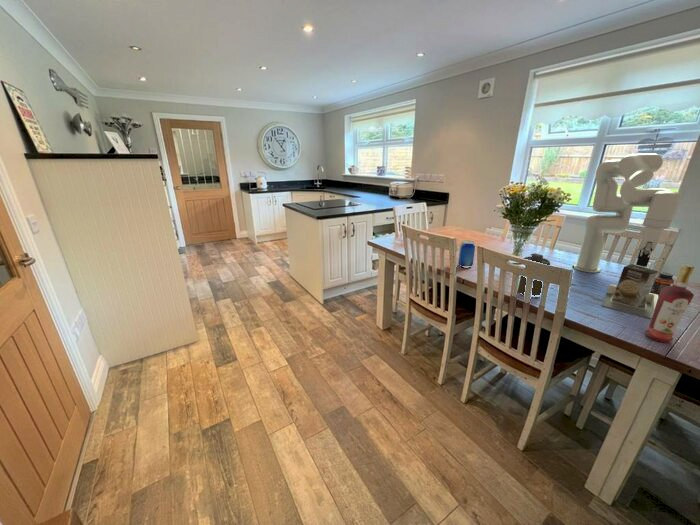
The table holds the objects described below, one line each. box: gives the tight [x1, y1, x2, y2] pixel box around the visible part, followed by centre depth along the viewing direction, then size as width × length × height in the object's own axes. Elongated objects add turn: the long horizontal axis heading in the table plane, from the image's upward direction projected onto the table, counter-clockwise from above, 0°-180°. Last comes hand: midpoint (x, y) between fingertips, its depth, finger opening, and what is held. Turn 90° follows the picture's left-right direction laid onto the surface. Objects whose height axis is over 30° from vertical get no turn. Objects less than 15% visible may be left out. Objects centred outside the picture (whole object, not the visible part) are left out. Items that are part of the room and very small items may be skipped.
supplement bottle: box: [649, 271, 675, 297], centre depth 126 cm, size 6×6×11 cm
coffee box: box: [613, 263, 659, 307], centre depth 120 cm, size 9×6×16 cm
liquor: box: [644, 264, 695, 343], centre depth 94 cm, size 7×7×28 cm
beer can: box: [457, 239, 476, 267], centre depth 167 cm, size 8×8×16 cm
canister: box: [517, 253, 551, 296], centre depth 131 cm, size 11×10×20 cm
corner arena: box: [601, 284, 658, 320], centre depth 121 cm, size 18×16×4 cm
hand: (641, 262), depth 117 cm, fingers open, 9 cm apart
